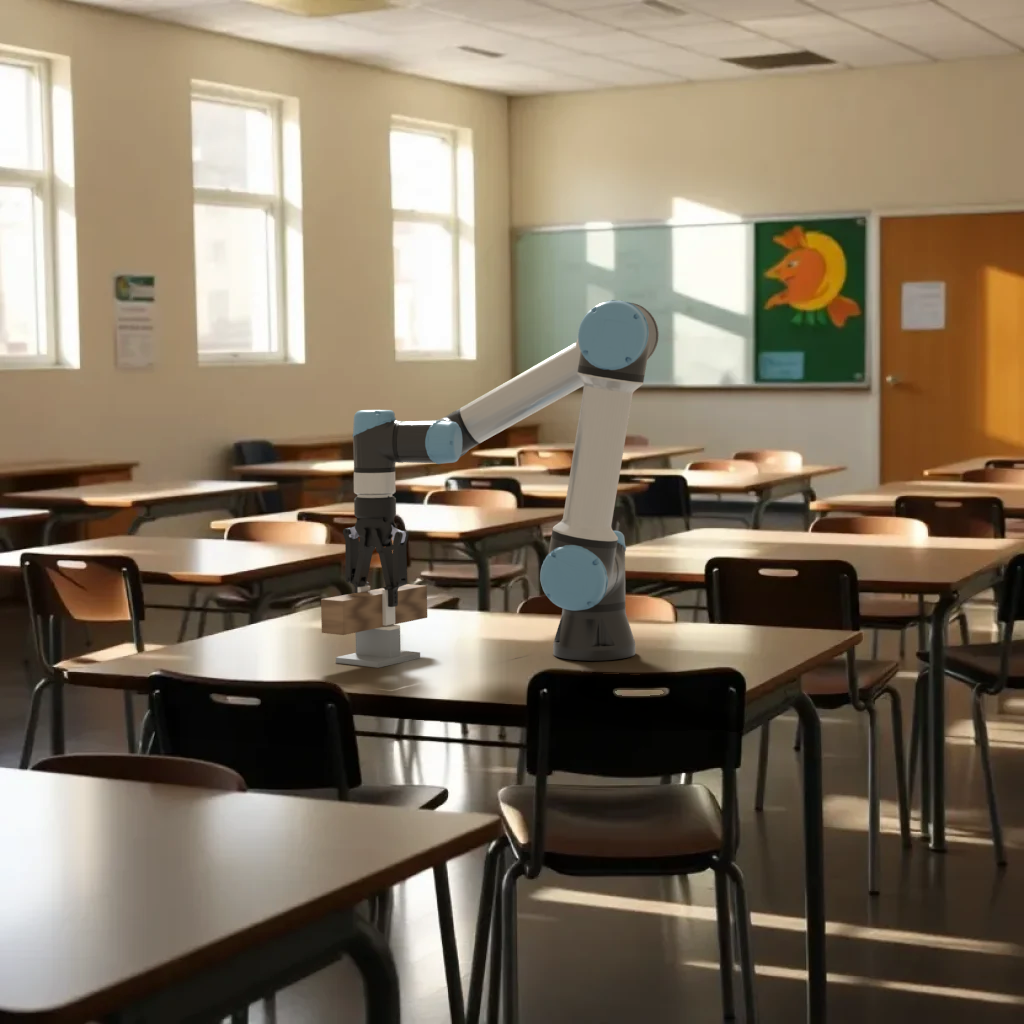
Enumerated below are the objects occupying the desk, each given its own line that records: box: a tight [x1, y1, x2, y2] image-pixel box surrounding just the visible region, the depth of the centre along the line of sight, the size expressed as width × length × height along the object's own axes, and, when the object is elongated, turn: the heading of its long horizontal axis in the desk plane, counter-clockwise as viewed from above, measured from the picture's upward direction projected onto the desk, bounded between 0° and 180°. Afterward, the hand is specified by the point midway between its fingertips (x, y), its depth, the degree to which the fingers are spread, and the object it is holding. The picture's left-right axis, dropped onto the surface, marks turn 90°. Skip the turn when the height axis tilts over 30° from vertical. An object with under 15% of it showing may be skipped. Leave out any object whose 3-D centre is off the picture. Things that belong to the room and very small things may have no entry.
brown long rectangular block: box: [320, 583, 428, 636], centre depth 314 cm, size 24×5×6 cm, turn 145°
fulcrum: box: [335, 624, 421, 669], centre depth 314 cm, size 10×12×6 cm
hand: (376, 623), depth 314 cm, fingers closed on brown long rectangular block, 5 cm apart
